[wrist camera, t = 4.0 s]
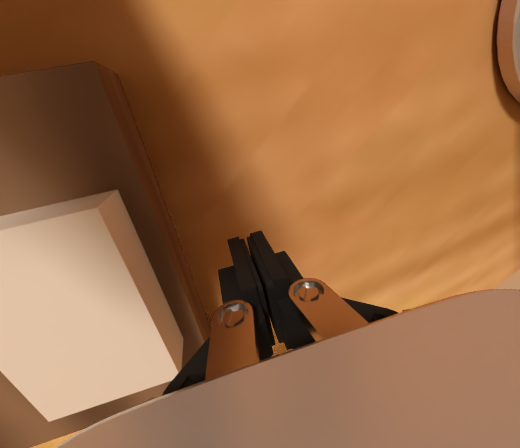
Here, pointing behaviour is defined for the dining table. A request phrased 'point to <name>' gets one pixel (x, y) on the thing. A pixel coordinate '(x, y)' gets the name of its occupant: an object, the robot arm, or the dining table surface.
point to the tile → (81, 307)
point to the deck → (82, 185)
